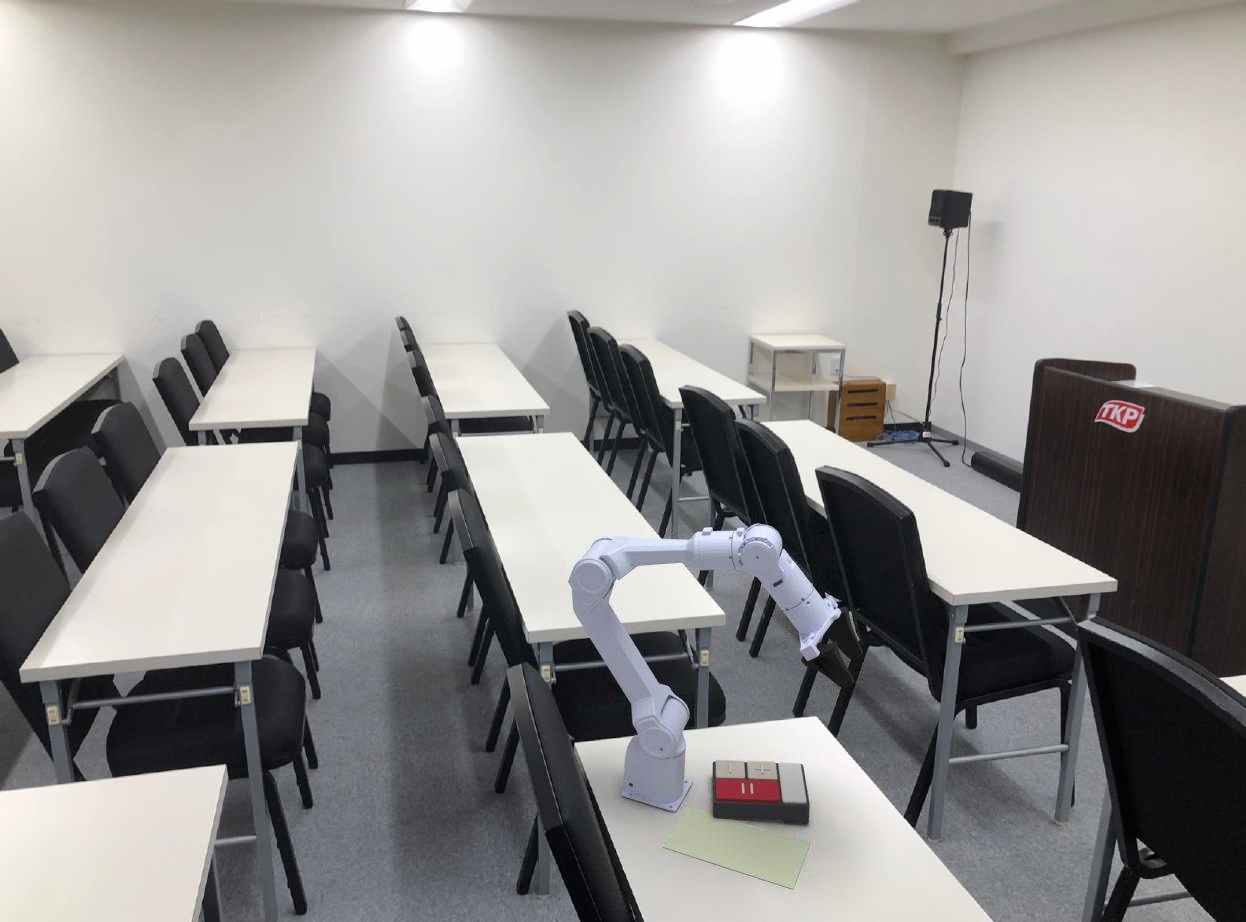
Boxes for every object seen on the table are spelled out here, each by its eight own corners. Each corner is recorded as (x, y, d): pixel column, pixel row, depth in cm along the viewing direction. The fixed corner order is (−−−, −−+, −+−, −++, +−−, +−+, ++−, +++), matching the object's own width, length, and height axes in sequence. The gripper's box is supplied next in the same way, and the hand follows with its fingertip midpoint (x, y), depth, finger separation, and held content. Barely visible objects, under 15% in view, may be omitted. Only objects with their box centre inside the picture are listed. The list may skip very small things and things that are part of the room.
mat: (662, 847, 142) (662, 846, 142) (686, 806, 151) (686, 805, 151) (793, 889, 135) (793, 888, 135) (810, 843, 144) (810, 842, 144)
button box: (712, 756, 158) (803, 759, 157) (712, 778, 159) (802, 781, 158) (712, 798, 147) (810, 801, 146) (712, 821, 149) (809, 825, 147)
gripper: (808, 611, 130) (867, 688, 130) (829, 564, 142) (883, 634, 143) (769, 632, 133) (826, 706, 134) (792, 584, 146) (844, 652, 147)
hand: (853, 670), depth 139 cm, fingers open, 7 cm apart
